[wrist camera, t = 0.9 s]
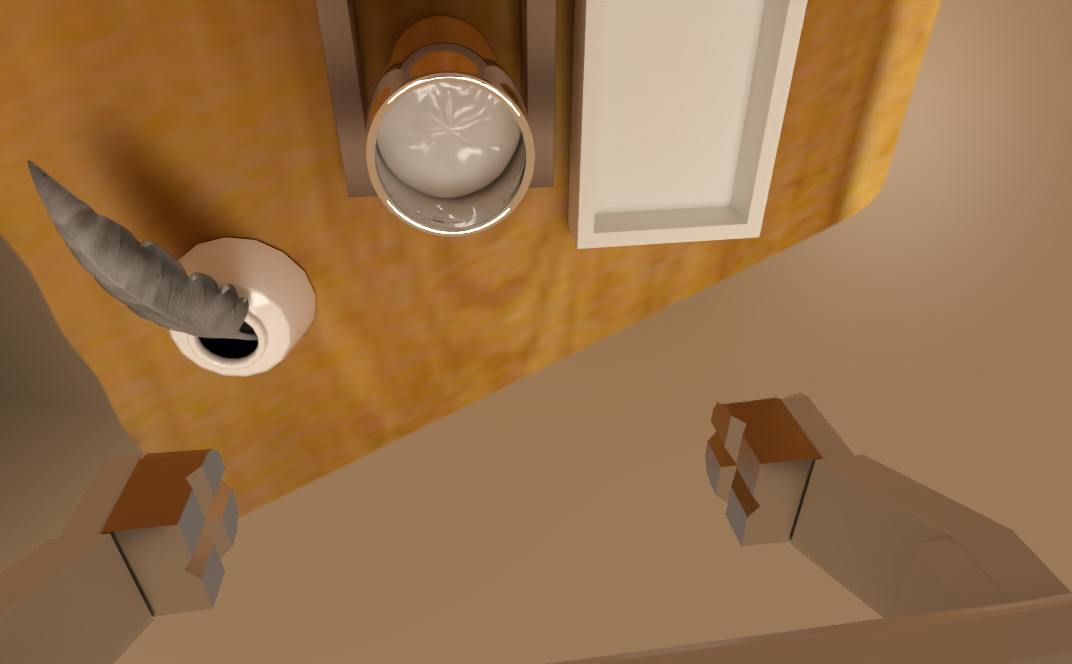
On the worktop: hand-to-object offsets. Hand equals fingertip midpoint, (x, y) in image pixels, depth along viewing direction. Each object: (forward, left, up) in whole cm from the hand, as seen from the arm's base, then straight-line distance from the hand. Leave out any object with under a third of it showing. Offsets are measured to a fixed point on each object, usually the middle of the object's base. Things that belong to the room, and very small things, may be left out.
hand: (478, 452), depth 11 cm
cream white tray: (+3, +13, -32) cm, 35 cm away
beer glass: (+1, 0, -32) cm, 32 cm away
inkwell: (+11, -16, -32) cm, 38 cm away
